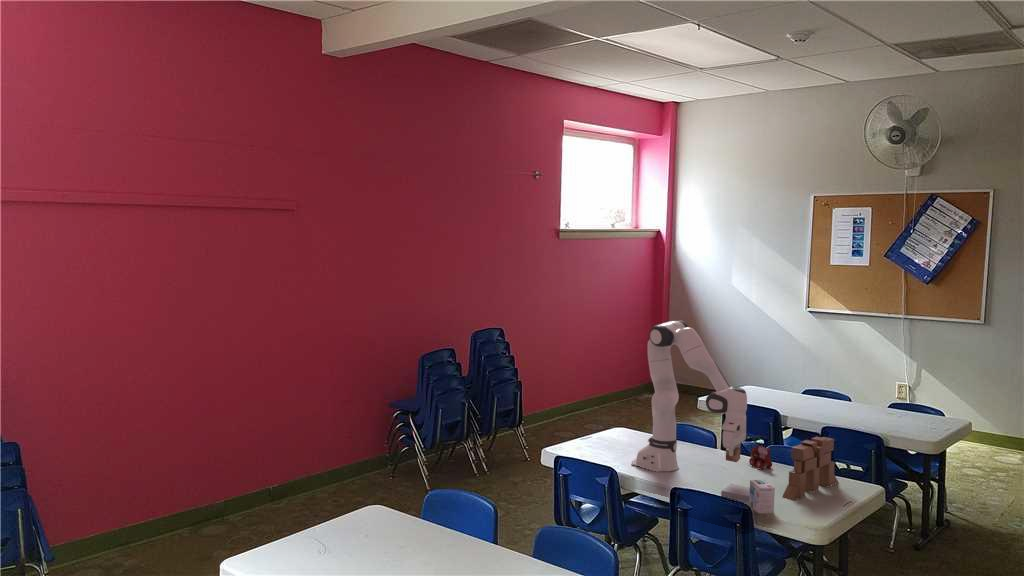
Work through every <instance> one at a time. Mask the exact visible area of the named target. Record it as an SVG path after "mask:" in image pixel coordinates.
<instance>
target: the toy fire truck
mask: <svg viewBox="0 0 1024 576" xmlns="http://www.w3.org/2000/svg"><path fill="white" fill-rule="evenodd" d="M770 455H771V449H770V448H767V447H764V446H762V445H759V444H755V445H754V447H753V448H752V450H751V452H750V458H749V462H748V463H749V465H750V466H751V465H752V466H751V467H756V468H757V469H758V468H759V469H758V470H762V469H764V467H766V468H767V469H769V468H772V467H773V462H772V460H771V458H770Z"/></svg>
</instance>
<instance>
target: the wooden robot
mask: <svg viewBox="0 0 1024 576" xmlns="http://www.w3.org/2000/svg"><path fill="white" fill-rule="evenodd" d="M800 443H801V444H797V445H795V446H792V447H791V459H792V460H793V469H792V470H789V472H788V484H787V486H786V488H785V490H784V492H783V494H782V497H783V498H782V497H781V498H782V499H785V498H787V499H786V500H789V499H790V501H795V500H797V499H801V498H803V497H805V496H806V490H807V492H810V491H811V492H810V493H815V492H817V491H819V487H820V486H822V485H824V486H823V487H826V486H829V487H832V486H833V484H834V485H836V484H838V482H839V480H838V479H837V476H836V474H835V464H836V463H835V462H834V461H832V460H831V459H832V452H833V451H834V444H835V439H834V438H831V437H827V436H826V437H825V436H822V437H820V436H815V437H811V440H809V439H805V440H803V441H801V442H800ZM835 483H836V484H835ZM819 484H820V485H819ZM831 485H832V486H831ZM816 490H817V491H816ZM814 491H815V492H814Z"/></svg>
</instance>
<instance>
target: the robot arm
mask: <svg viewBox="0 0 1024 576" xmlns="http://www.w3.org/2000/svg"><path fill="white" fill-rule="evenodd" d="M648 338H649V340H648V341H647V360H648V367H649V368H648V369H649V375H650V378H651V382H652V384H653V388H654V393H653V395H652V397H651V413H652V436H651V437H649V438H648V439H647V443H648V445H646V446H644V447H643V448H641V449H640V450H638V452H637V455H636V458H635V459H634V460H632V461H631V465H632V464H633V465H637V466H640V467H643V468H642V469H644V468H646V469H645V470H648V469H649V470H648V471H651V470H652V471H651V472H655V471H656V472H658V473H659V472H673V471H678V469H679V465H678V459H677V449H678V447H677V446H678V444H677V443H678V439H677V421H676V420H677V419H676V418H677V417H676V405H677V404H678V403H679V399H680V396H679V391H678V386H677V385H678V384H677V382H676V378H675V374H674V367H673V362H672V354H671V347H672V346H673V345H675V346H676V347H677V348H678V349H679V351H680V354H681V355H682V357H683V360H684V362H685V364H686V365H687V366H688V367H689V368H690V369H693V370H695V371H699V372H701V373H703V374H704V375H705V376H706V377H708V379H709V381H710V383H711V384H712V386H713V387H714V389H715V391H713V392H710V393H709V394H708V395H707V396H706V398H705V405H706V408H707V410H708V411H709V412H710V413H713V414H725V419H724V422H723V424H722V426H721V429H722V430H723V431H722V445H723V448H725V449H727V448H728V450H729V456H733V455H734V451H733V449H734V447H737V448H741V445H742V443H743V442H744V441H746V438H747V414H746V413H747V410H748V394H747V391H746V390H745V389H744V388H742V387H739V386H736V385H735V386H731V385H730V384H729V383H728V381H727V378H725V376H724V374H723V373H722V371H721V369H720V368H719V366H718V365H717V363H716V362H715V360H714V359H713V358H712V357H711V355H710V353H709V352H708V350H707V348H706V346H705V343H703V341H702V339H701V337H700V335H699V334H698V332H697V331H696V330H695V329H694V328H693V327H690V326H689V325H688V323H687V322H686V321H684V320H679V319H676V320H669V321H665V322H662V323H660V324H659V323H658V324H655V325H654V326H652V328H651V329H650V330H649V333H648ZM633 465H632V466H633ZM637 466H636V467H637ZM640 467H639V468H640Z"/></svg>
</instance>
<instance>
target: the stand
mask: <svg viewBox="0 0 1024 576" xmlns="http://www.w3.org/2000/svg"><path fill="white" fill-rule="evenodd" d="M720 495H721V497H722V496H725V497H724V498H727V497H729V498H728V499H732V500H737V501H741V500H742V501H741V502H747V503H749V495H750V486H745V485H740V484H739V485H738V484H734V483H730V484H728V485H727V486H726V487H725V488H723V489H722V490H721V492H720Z"/></svg>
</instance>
